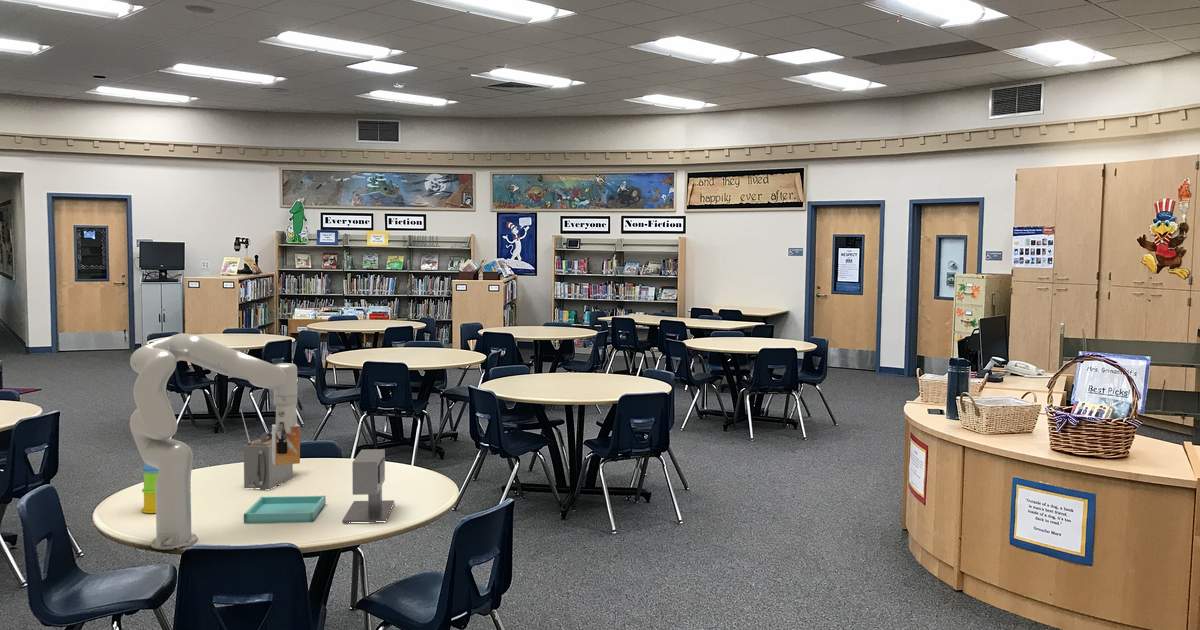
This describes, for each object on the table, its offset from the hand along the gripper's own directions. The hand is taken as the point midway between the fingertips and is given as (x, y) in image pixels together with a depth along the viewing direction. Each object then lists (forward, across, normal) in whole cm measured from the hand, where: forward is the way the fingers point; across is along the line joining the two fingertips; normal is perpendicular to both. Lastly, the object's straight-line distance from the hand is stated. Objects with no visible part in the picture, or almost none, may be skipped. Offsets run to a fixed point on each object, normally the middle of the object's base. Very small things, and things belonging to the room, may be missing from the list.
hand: (285, 450), depth 282 cm
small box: (+4, 0, 0) cm, 4 cm away
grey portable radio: (+22, +41, +16) cm, 50 cm away
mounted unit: (+22, -1, -28) cm, 36 cm away
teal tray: (+22, 0, 0) cm, 22 cm away
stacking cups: (+22, +7, +44) cm, 50 cm away
